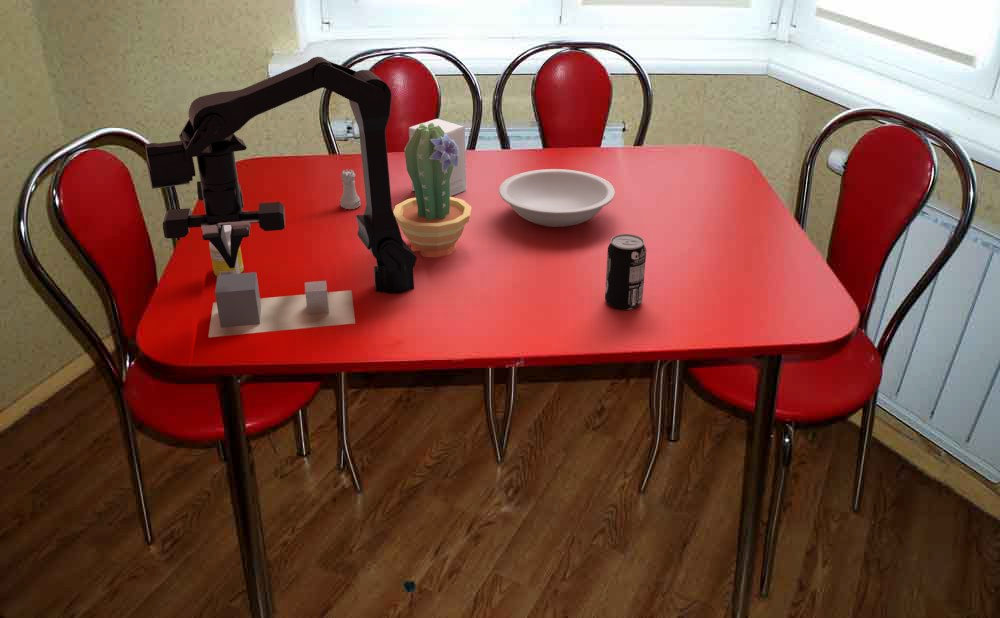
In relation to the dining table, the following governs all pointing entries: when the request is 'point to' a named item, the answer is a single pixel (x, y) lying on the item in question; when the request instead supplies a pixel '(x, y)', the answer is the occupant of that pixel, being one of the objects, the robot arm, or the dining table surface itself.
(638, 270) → the beverage can
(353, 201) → the rook chess piece
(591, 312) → the dining table surface
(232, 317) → the gray matte cube
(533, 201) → the soup bowl
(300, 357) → the dining table surface
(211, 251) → the supplement bottle
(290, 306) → the board
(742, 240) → the dining table surface
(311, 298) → the grey cube
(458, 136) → the supplement box
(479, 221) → the dining table surface
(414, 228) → the potted cactus
